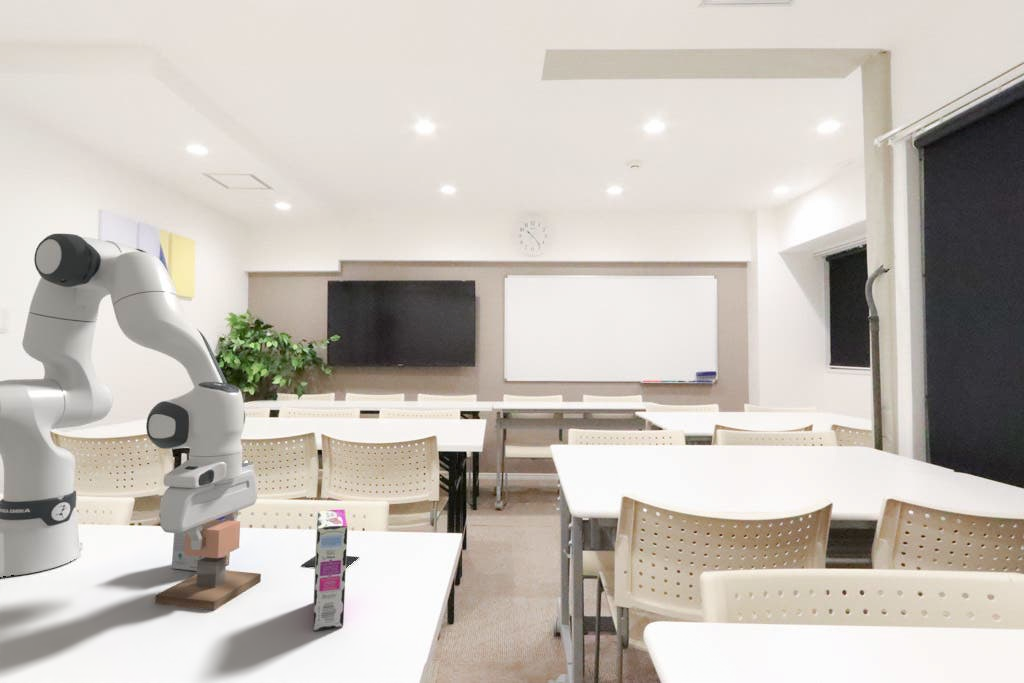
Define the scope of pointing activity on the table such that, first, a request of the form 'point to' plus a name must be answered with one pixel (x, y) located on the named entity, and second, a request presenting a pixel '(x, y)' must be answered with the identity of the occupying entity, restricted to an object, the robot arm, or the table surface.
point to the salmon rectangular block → (216, 539)
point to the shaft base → (208, 586)
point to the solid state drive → (312, 561)
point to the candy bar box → (330, 570)
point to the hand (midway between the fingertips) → (212, 542)
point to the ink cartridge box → (184, 560)
